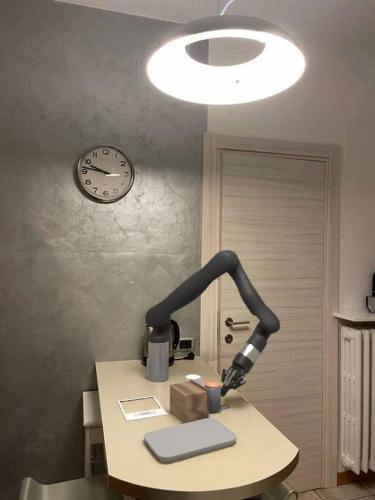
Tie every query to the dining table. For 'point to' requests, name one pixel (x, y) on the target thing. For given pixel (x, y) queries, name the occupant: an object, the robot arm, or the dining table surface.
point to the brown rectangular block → (190, 401)
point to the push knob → (214, 395)
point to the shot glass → (193, 378)
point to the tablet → (188, 439)
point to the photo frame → (143, 412)
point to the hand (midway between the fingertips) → (220, 395)
